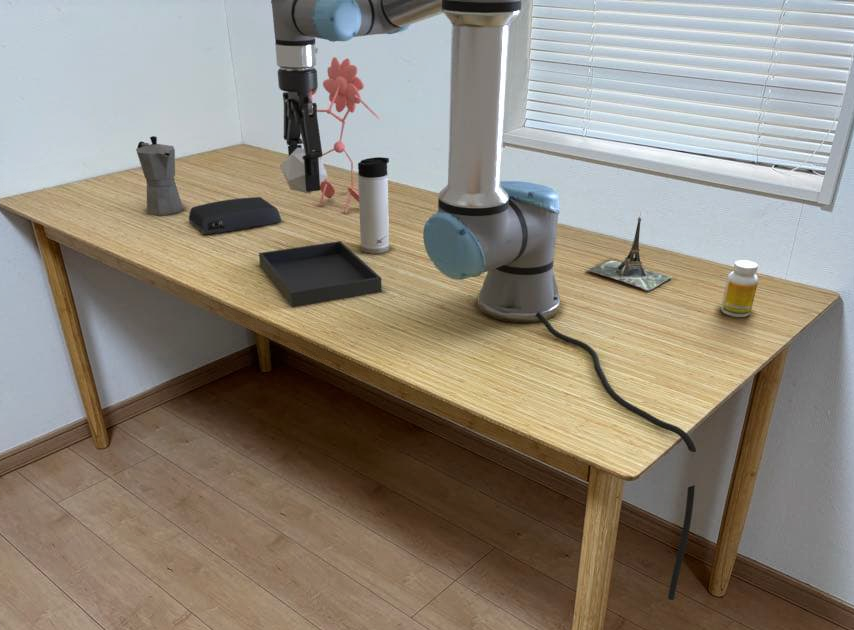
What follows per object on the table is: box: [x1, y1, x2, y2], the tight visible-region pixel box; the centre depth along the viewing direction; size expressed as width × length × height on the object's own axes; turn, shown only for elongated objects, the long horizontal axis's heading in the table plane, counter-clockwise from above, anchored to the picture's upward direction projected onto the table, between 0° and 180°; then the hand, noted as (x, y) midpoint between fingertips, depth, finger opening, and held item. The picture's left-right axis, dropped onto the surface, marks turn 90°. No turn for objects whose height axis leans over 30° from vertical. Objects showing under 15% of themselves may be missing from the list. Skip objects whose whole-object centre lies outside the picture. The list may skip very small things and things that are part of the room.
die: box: [279, 147, 329, 195], centre depth 163 cm, size 8×9×10 cm
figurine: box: [309, 56, 380, 219], centre depth 198 cm, size 15×26×35 cm, turn 50°
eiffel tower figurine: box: [587, 211, 674, 292], centre depth 162 cm, size 15×10×13 cm
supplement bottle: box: [720, 259, 759, 318], centre depth 148 cm, size 5×5×10 cm
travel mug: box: [357, 156, 390, 255], centre depth 173 cm, size 6×7×20 cm
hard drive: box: [188, 196, 283, 235], centre depth 192 cm, size 13×19×4 cm
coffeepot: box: [135, 135, 184, 216], centre depth 197 cm, size 15×9×18 cm, turn 44°
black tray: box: [258, 240, 383, 308], centre depth 162 cm, size 23×18×3 cm
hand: (304, 183), depth 165 cm, fingers closed on die, 10 cm apart
